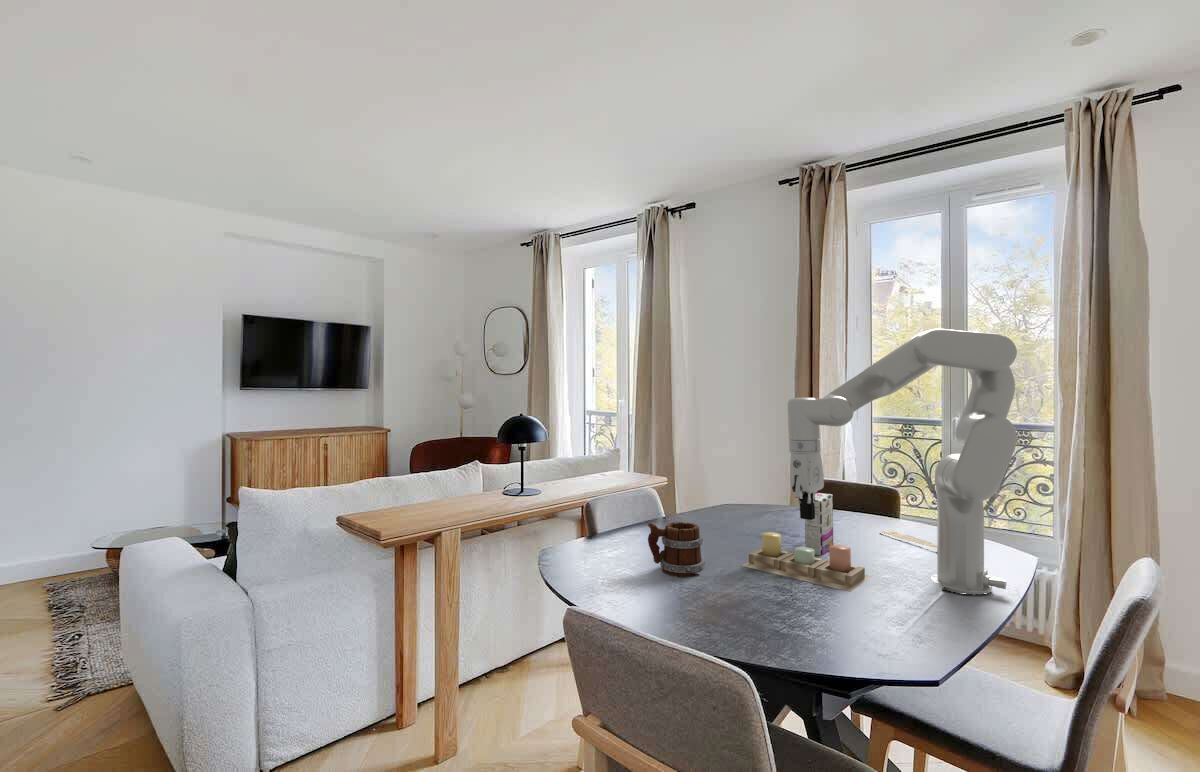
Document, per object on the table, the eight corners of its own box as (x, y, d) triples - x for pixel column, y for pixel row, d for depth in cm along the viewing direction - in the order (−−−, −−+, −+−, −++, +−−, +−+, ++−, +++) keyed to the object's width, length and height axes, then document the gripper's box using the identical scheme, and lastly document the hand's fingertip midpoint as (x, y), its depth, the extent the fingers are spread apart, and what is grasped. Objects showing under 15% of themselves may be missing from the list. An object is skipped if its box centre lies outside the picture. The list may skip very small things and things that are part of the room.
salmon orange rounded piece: (853, 567, 144) (853, 547, 144) (846, 572, 141) (846, 551, 140) (834, 563, 147) (834, 543, 147) (826, 568, 144) (826, 547, 144)
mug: (715, 575, 150) (705, 517, 149) (661, 588, 147) (650, 530, 147) (700, 561, 161) (690, 508, 161) (650, 573, 159) (640, 519, 158)
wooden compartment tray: (871, 581, 146) (871, 565, 146) (850, 596, 135) (850, 579, 135) (766, 558, 165) (766, 544, 165) (741, 570, 155) (741, 555, 155)
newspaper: (879, 536, 190) (879, 530, 190) (897, 534, 192) (897, 529, 192) (941, 557, 167) (941, 550, 167) (960, 555, 169) (960, 548, 169)
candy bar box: (816, 547, 175) (816, 492, 175) (833, 550, 172) (833, 494, 172) (803, 556, 166) (803, 498, 166) (822, 560, 163) (822, 500, 163)
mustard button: (784, 553, 156) (784, 534, 156) (775, 557, 153) (775, 538, 153) (767, 549, 160) (767, 531, 160) (758, 553, 156) (758, 534, 156)
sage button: (817, 569, 150) (817, 549, 150) (809, 573, 147) (809, 553, 147) (799, 565, 154) (799, 545, 153) (791, 569, 150) (791, 549, 150)
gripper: (806, 450, 142) (809, 526, 142) (831, 443, 153) (834, 514, 153) (777, 448, 147) (780, 522, 147) (803, 442, 158) (806, 511, 158)
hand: (807, 518), depth 150 cm, fingers closed
